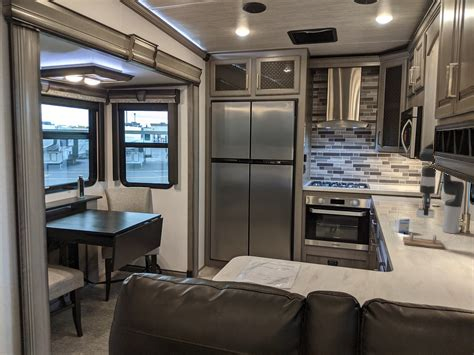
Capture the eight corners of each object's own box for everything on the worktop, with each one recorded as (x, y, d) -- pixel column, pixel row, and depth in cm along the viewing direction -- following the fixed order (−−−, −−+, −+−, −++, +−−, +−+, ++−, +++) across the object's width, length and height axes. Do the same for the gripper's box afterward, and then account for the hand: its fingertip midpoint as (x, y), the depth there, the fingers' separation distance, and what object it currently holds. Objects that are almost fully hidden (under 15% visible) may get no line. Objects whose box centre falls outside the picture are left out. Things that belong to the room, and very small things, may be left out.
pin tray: (402, 238, 224) (403, 230, 224) (440, 242, 217) (441, 234, 217) (404, 244, 211) (405, 235, 211) (444, 249, 204) (445, 240, 204)
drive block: (416, 215, 217) (417, 208, 216) (433, 216, 213) (434, 209, 212) (416, 216, 212) (416, 209, 212) (434, 218, 208) (434, 211, 208)
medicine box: (398, 233, 237) (399, 219, 236) (393, 231, 241) (394, 218, 240) (408, 232, 239) (410, 219, 238) (404, 230, 243) (405, 217, 242)
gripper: (419, 182, 218) (416, 211, 220) (421, 185, 205) (419, 216, 207) (433, 183, 216) (430, 212, 218) (437, 186, 202) (434, 217, 204)
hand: (425, 214), depth 212 cm, fingers closed on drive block, 5 cm apart
